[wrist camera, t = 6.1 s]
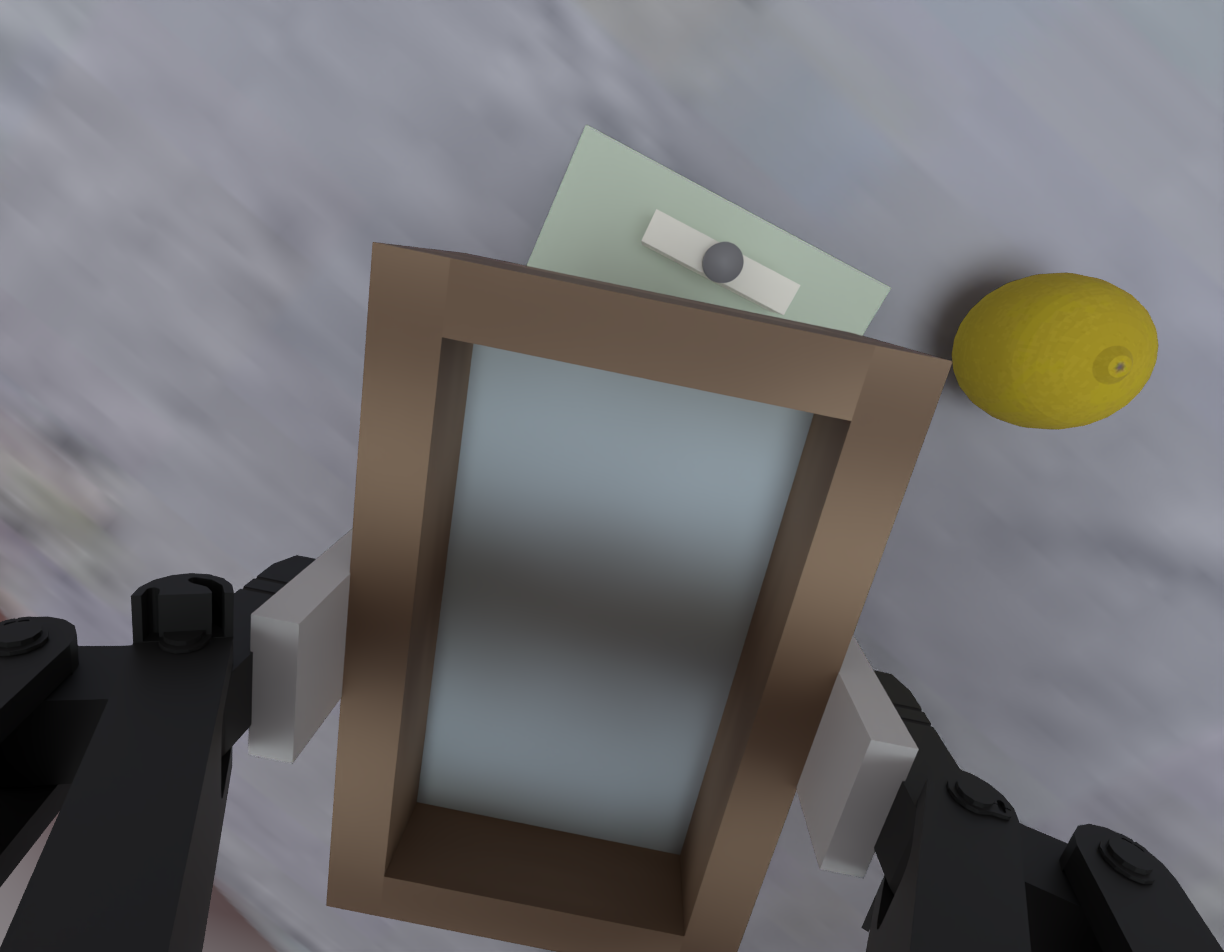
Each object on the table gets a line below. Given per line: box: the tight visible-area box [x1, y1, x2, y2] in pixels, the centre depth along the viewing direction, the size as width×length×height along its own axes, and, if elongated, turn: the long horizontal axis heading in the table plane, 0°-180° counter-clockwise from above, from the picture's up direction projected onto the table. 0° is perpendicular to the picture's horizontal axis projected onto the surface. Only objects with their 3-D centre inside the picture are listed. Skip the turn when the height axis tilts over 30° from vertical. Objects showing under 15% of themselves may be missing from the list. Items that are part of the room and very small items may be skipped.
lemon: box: [952, 273, 1158, 429], centre depth 23 cm, size 6×6×8 cm
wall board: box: [527, 125, 891, 336], centre depth 27 cm, size 22×14×4 cm, turn 154°
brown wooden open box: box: [326, 242, 953, 952], centre depth 14 cm, size 14×9×5 cm, turn 169°
